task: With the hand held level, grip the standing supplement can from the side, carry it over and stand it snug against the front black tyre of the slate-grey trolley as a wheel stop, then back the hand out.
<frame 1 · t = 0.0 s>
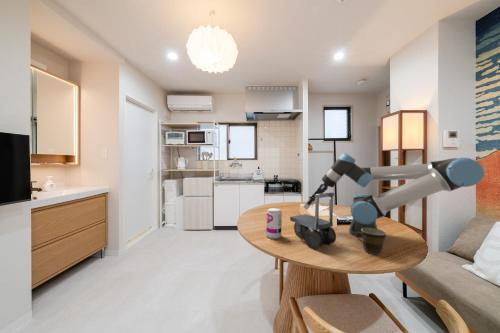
hand: (308, 206, 125), 15 cm above the table, tool tilted 35°, fingers open, 13 cm apart
trolley: (301, 237, 117), on the table
ceramic cup: (369, 252, 99), on the table
supplement can: (273, 236, 118), on the table
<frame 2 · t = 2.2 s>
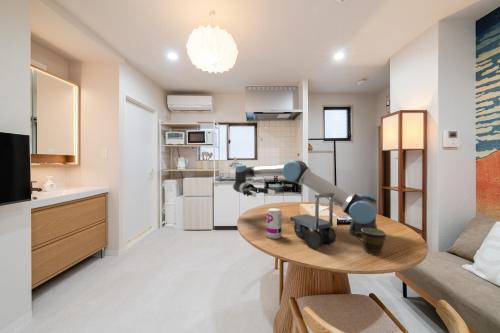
hand: (265, 193, 125), 22 cm above the table, tool horizontal, fingers open, 13 cm apart
nothing on the table moved.
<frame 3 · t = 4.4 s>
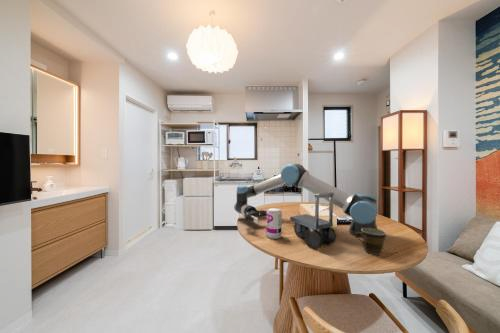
hand: (267, 219, 122), 8 cm above the table, tool horizontal, fingers open, 13 cm apart
nothing on the table moved.
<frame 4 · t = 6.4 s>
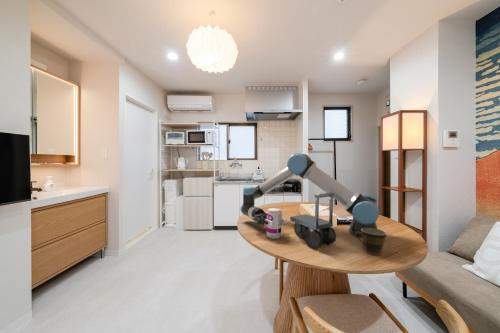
hand: (279, 223, 114), 9 cm above the table, tool horizontal, fingers closed on supplement can, 8 cm apart
supplement can: (273, 236, 118), on the table, touching gripper
everything else where it was.
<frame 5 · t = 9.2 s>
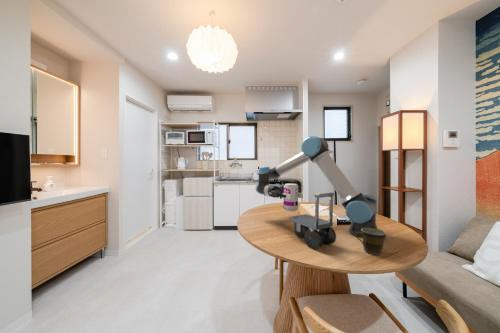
hand: (296, 196, 120), 22 cm above the table, tool horizontal, fingers closed on supplement can, 8 cm apart
supplement can: (290, 210, 124), point 13 cm above the table, touching gripper
everything else where it was.
when the fingers open (10 cm above the table, at t = 11.8 s): supplement can drops 1 cm, on the table.
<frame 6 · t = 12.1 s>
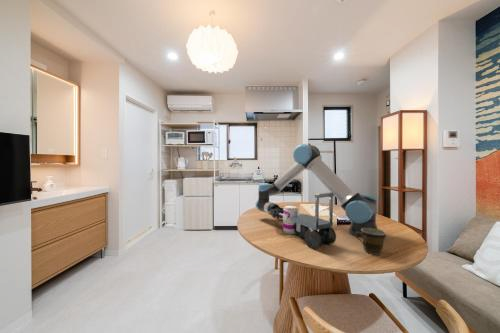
hand: (295, 216, 121), 10 cm above the table, tool horizontal, fingers open, 11 cm apart
supplement can: (290, 232, 125), on the table
everything else where it was.
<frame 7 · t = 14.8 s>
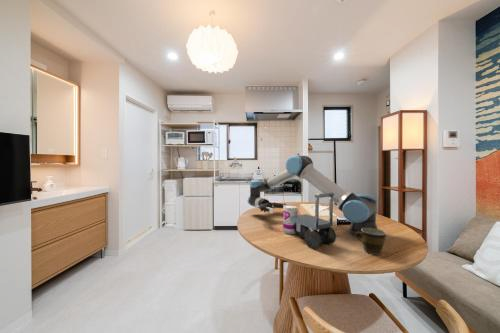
hand: (281, 209, 133), 11 cm above the table, tool horizontal, fingers open, 13 cm apart
nothing on the table moved.
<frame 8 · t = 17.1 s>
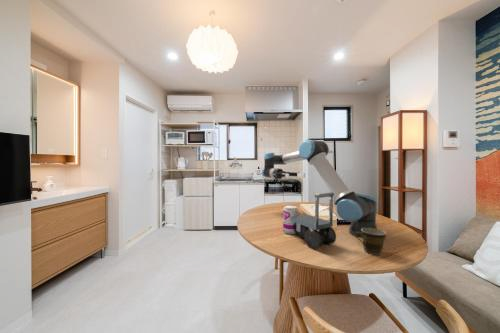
hand: (296, 175, 139), 32 cm above the table, tool horizontal, fingers open, 13 cm apart
nothing on the table moved.
at the end: supplement can 9.1 cm from the trolley (horizontally); supplement can tilted 0°; the gripper is holding nothing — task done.
